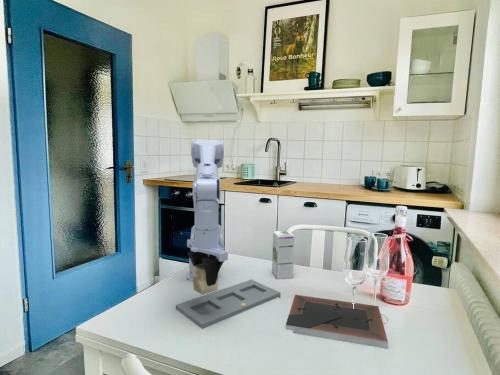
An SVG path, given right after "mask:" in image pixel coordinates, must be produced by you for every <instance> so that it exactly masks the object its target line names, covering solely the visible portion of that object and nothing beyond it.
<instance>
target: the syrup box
mask: <svg viewBox="0 0 500 375" xmlns="http://www.w3.org/2000/svg"><path fill="white" fill-rule="evenodd" d="M294 253H295V234H294V233H292V232H291V231H290V230H277V231H276V230H275V231H273V232H272V264H271V265H272V266H271V267H272V268H271V270H272V272H271V273H272V274H273V275H274V277H275V278H276V279H277V280H279V279H281V280H284V279H293V278H294V264H295V263H294V258H295V257H294V256H295V254H294Z"/></svg>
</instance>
